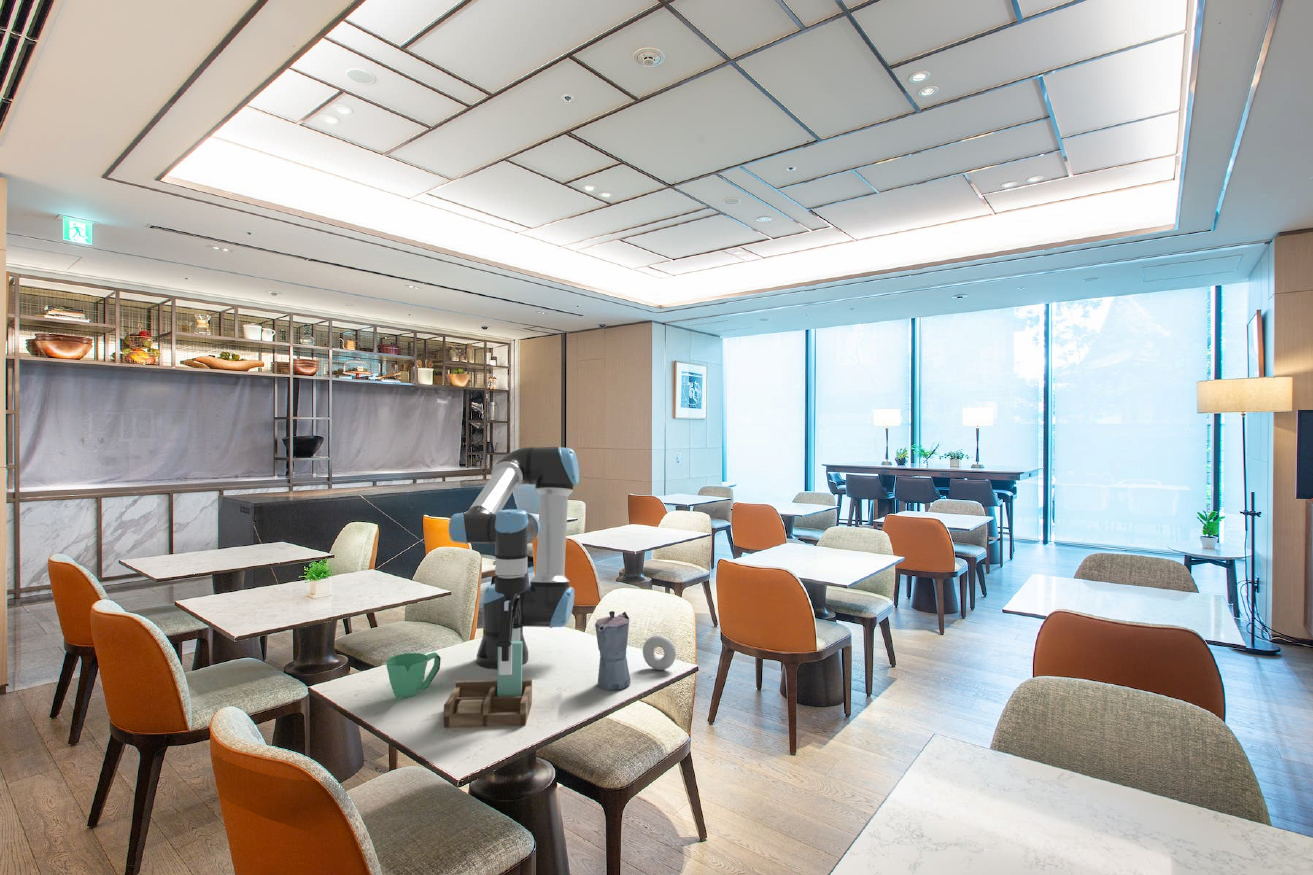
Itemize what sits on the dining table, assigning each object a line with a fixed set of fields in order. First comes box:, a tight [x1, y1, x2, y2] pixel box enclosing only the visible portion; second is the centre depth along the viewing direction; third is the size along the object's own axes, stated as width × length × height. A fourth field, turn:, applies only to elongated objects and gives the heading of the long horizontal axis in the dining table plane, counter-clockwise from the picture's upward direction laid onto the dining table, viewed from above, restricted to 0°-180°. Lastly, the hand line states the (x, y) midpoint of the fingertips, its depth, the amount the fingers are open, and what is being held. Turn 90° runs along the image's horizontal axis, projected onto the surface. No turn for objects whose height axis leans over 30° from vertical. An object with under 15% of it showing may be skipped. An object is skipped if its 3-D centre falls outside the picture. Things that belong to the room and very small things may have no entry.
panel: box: [496, 641, 523, 697], centre depth 153 cm, size 2×6×16 cm, turn 94°
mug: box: [385, 652, 442, 702], centre depth 165 cm, size 15×10×10 cm
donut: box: [642, 634, 677, 671], centre depth 185 cm, size 10×4×10 cm, turn 71°
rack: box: [443, 678, 533, 729], centre depth 150 cm, size 12×18×8 cm, turn 94°
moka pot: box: [594, 610, 631, 691], centre depth 174 cm, size 10×15×20 cm, turn 158°
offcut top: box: [458, 700, 484, 714], centre depth 147 cm, size 3×5×2 cm, turn 94°
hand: (510, 664), depth 153 cm, fingers open, 13 cm apart
